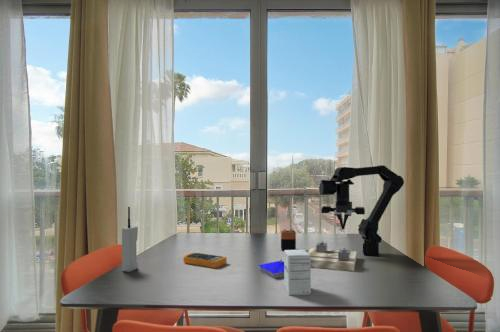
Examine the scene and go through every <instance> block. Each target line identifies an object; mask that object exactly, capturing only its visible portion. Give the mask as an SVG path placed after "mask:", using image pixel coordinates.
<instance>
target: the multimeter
mask: <svg viewBox="0 0 500 332" xmlns="http://www.w3.org/2000/svg"><path fill="white" fill-rule="evenodd" d="M182 259H183V263H184V264H187V265H194V266H200V267H206V268H212V269H218V268H220V267H222V266H223V267H224V265H226V264H227V263H228V262H227V256H223V255H214V254H208V253H202V252H189V253H186V254H184V255H183V258H182Z"/></svg>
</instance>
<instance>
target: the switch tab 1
mask: <svg viewBox="0 0 500 332" xmlns="http://www.w3.org/2000/svg"><path fill="white" fill-rule="evenodd" d="M315 248H316V252H323V253H326V251H327V249H328V243H327V242H324V240H321V242H317V244H316V247H315Z"/></svg>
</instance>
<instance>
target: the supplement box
mask: <svg viewBox="0 0 500 332" xmlns="http://www.w3.org/2000/svg"><path fill="white" fill-rule="evenodd" d="M283 261H284V277H283V279H284V281H283V282H284V283H283V284H284V287H283V288H285V290H286V292H287V294H288V296H304V295H305V296H306V295H311V294H312V293H311V292H312V288H311V286H312V285H311V283H312V281H311V273H312V271H311V269H312V267H311V257H310V254H309V253H308V251H307V250H305V249H296V250H284V251H283Z"/></svg>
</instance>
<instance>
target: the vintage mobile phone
mask: <svg viewBox="0 0 500 332" xmlns="http://www.w3.org/2000/svg"><path fill="white" fill-rule="evenodd" d="M127 216H128V217H127V226H125V227H122V228H121V271H122V272H127V273H129V272H133V271H135V270H138V269H139V263H138V261H137V241H138V232H139V231H138V230H139V227H138V226H132V225H131V218H130V217H131V208H130V206H128V208H127Z"/></svg>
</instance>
